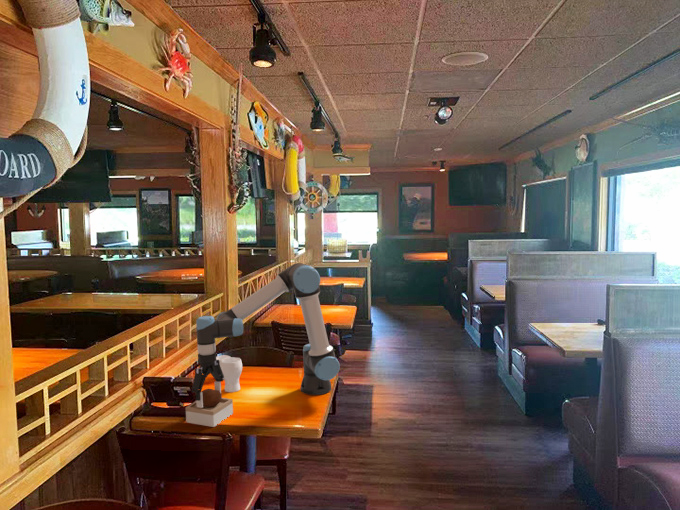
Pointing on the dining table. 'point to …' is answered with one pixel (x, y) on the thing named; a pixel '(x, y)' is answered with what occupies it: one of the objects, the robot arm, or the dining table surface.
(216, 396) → the potato
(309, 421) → the dining table surface
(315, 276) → the robot arm
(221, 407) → the tray
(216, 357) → the mug
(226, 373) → the cup
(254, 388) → the dining table surface
